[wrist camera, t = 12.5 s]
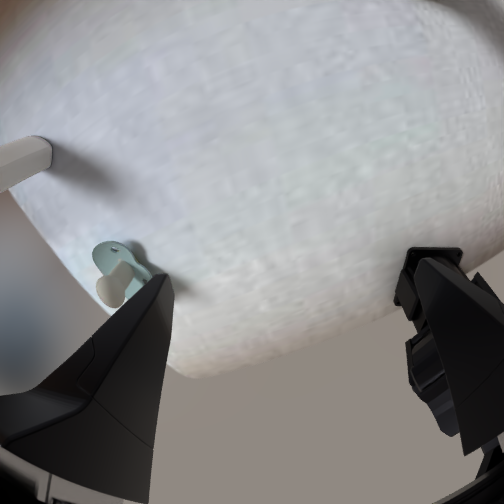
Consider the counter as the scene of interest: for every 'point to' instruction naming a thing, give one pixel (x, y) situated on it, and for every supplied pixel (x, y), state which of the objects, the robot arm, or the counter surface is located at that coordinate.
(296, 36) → the counter surface
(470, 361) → the robot arm
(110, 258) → the pacifier
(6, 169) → the eye dropper bottle
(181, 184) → the counter surface
